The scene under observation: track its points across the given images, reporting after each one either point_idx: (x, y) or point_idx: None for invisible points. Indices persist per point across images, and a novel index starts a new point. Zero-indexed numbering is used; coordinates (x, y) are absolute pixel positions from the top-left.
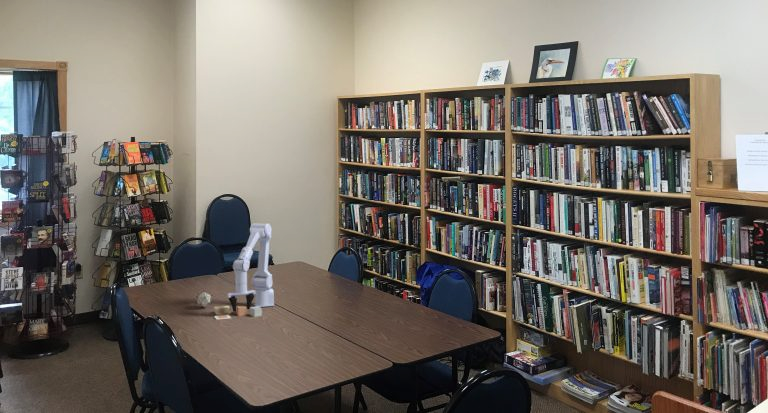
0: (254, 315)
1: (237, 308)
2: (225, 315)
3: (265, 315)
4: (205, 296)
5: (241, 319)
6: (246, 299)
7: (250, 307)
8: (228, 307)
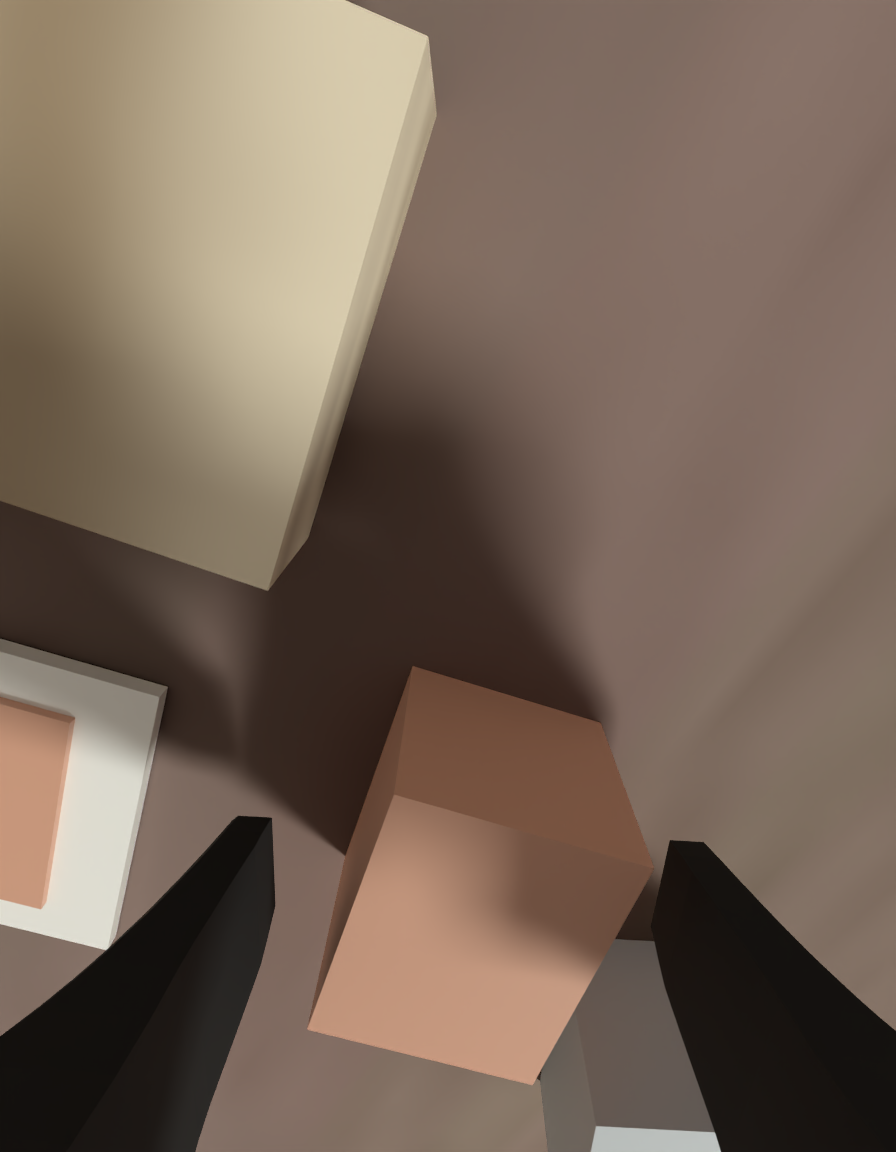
0: (544, 1104)
1: (356, 879)
2: (44, 771)
3: None
4: None
5: (247, 1092)
6: (836, 1103)
7: (601, 1144)
8: (269, 401)
